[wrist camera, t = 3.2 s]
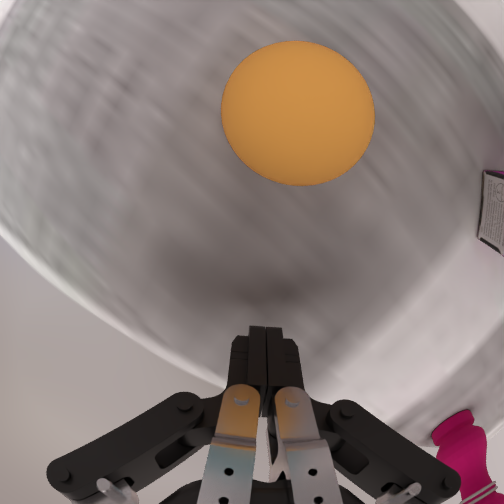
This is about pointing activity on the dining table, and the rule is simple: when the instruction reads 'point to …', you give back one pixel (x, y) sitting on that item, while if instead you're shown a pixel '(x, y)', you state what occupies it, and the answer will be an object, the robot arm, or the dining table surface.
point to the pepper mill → (467, 458)
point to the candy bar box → (492, 211)
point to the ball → (297, 113)
